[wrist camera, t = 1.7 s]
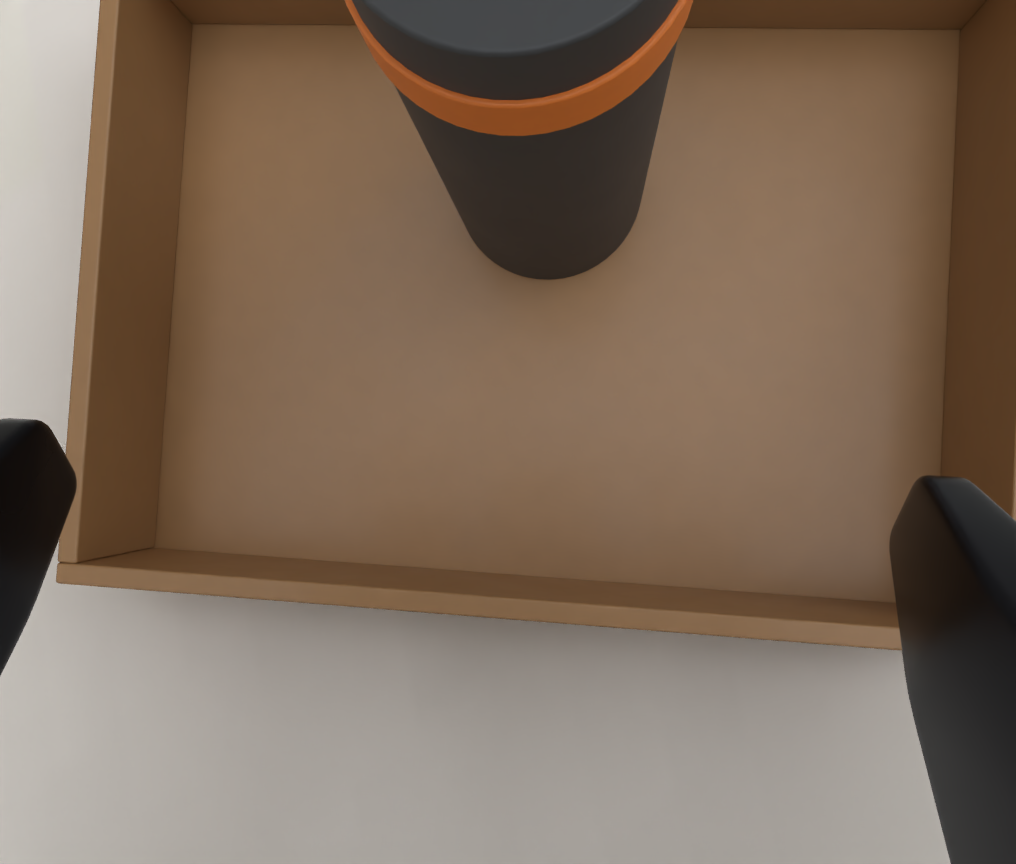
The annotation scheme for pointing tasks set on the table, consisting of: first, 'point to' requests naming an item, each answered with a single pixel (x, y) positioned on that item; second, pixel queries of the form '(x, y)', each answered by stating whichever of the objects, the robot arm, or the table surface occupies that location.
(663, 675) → the table surface
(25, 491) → the robot arm
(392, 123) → the brown wooden tray
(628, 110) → the dark grey cylinder
